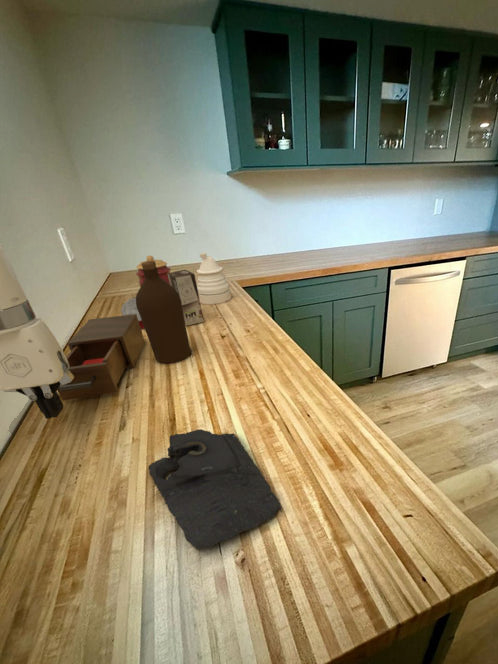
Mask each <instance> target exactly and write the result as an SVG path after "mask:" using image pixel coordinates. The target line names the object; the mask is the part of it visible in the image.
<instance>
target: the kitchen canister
mask: <svg viewBox="0 0 498 664" xmlns="http://www.w3.org/2000/svg"><path fill="white" fill-rule="evenodd" d="M147 261H154V262H155V263H156V267H157V269H158V273H159V277H160V278H161V279H163V280H164V281H165V282H167V283H168V284H170V282H169V278H168V274H167V273H171V271H172V270H171V267H169V266H167V265H168V263H167V262H166V261H164V260H162V259H155V258H154V256H153V255H147V256H146V260H144V261H140V262H139V264H138V265H136V269H137V271H136V272H135V275H136V276H137V277H138V284H139V287H141V286H142V284H143V282H144V280H145V277H144V274H143V270H142V269H143V267H142V265H141V263H143V262H147Z"/></svg>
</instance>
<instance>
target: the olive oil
mask: <svg viewBox="0 0 498 664" xmlns="http://www.w3.org/2000/svg"><path fill="white" fill-rule="evenodd" d="M146 261H147V260H146ZM142 262H143V261H142ZM140 263H141V262H140ZM141 265H142V267H143V269H142V270H143V274H144V277H145V280H144V282H143V284H142V286H141V287H140V286H139V287H140V288H139V289H138V291H137V292H136V296H135V297H136V306H137V309H138V312H139V315H140V317H141V320H142V323H143V325H144V328H145V329H144V331H145V334H146V336H147V339H148V342H149V344H150V347H151V350H152V354H153V356H154V359H155V361H156V362H158V363H160V364H174V363H178V362H182V361H183V360H185V359H187V358H188V357H189V356H190V355H191V353H192V351H191V346H190V342H189V336H188V331H187V325H185V320H184V314H183V309H182V301H181V299H180V296H179V294H178V292H177V291H176V289H175V288H174V287H172V286H171V285H170V284H168V283H167V282H165V281H164V280H163V279H161V278H160V277H159V273H158V269H157V267H156V263H155V262H154V261H147V262H143V263H141Z"/></svg>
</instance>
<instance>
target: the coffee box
mask: <svg viewBox="0 0 498 664" xmlns="http://www.w3.org/2000/svg"><path fill="white" fill-rule="evenodd" d="M167 274H168V278H169V282H170V285H171V286H172V287H174V288H175V289H176V291H177V292H178V294H179V296H180V299H181V301H182V309H183V314H184V320H185V325H186V327H188V326H193V325H196V324H201V323H204V322H205V320H204V314H203V309H202V305H201V304H202V303H200V299H199V294H198V289H197V280H196V275H195V273H193V272H191V271H189V270H187V269H181V270H176V271H172V272H170V273H167Z"/></svg>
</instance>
